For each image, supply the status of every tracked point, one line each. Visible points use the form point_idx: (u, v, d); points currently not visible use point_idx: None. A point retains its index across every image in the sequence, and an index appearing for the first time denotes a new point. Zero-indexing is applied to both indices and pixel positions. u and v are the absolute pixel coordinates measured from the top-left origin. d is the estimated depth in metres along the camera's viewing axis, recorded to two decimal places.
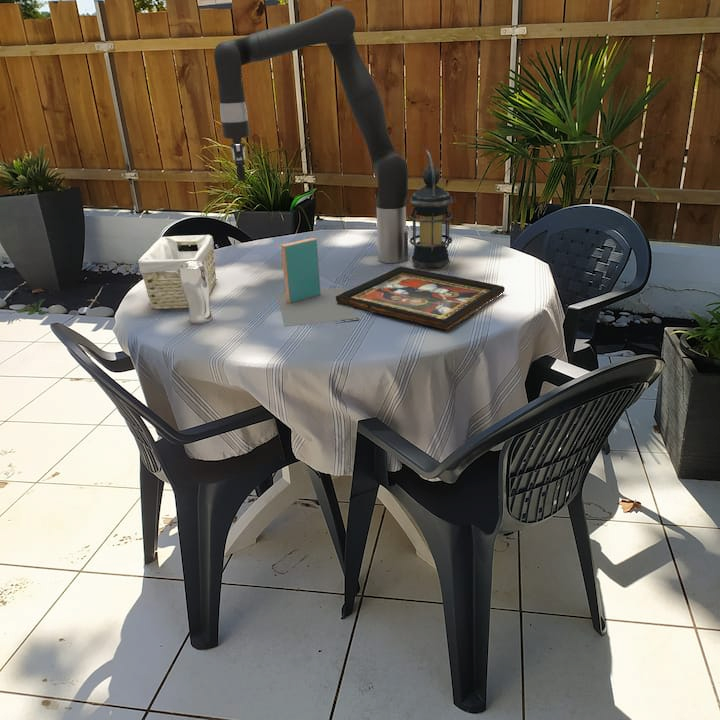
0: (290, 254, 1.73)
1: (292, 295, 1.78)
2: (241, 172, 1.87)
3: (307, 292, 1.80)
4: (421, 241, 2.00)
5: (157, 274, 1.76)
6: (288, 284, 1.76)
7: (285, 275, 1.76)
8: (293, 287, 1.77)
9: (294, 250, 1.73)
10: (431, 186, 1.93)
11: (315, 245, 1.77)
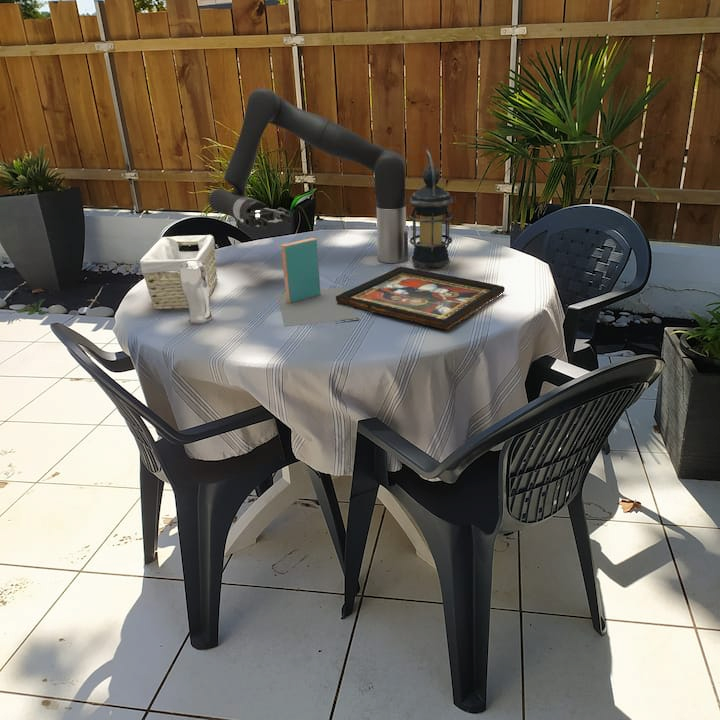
0: (290, 254, 1.73)
1: (292, 295, 1.78)
2: (259, 222, 1.80)
3: (307, 292, 1.80)
4: (421, 241, 2.00)
5: (158, 274, 1.75)
6: (288, 284, 1.76)
7: (285, 275, 1.76)
8: (293, 287, 1.77)
9: (294, 250, 1.73)
10: (431, 186, 1.93)
11: (315, 245, 1.77)
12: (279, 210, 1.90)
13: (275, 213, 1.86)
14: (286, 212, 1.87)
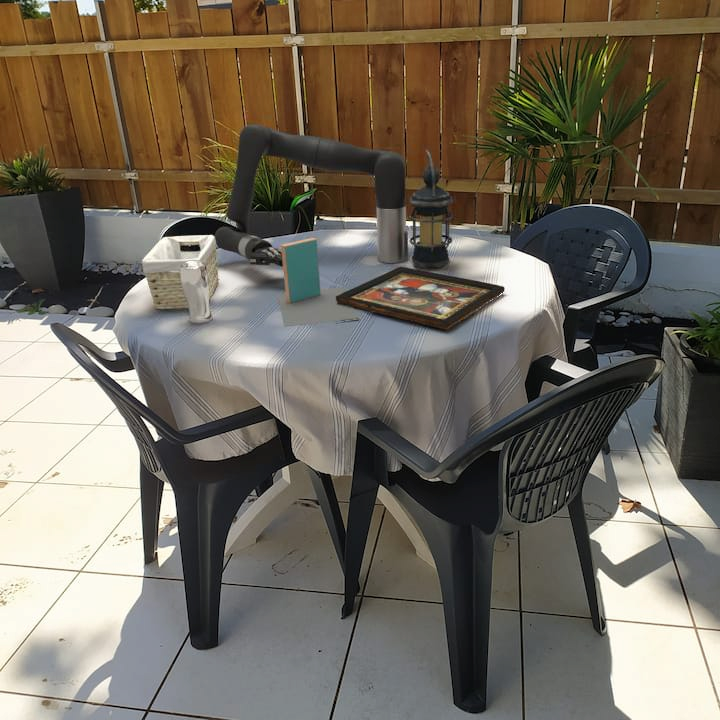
0: (290, 254, 1.73)
1: (292, 295, 1.78)
2: (275, 261, 1.86)
3: (307, 292, 1.80)
4: (421, 241, 2.00)
5: (160, 274, 1.75)
6: (288, 284, 1.76)
7: (285, 275, 1.76)
8: (293, 287, 1.77)
9: (294, 250, 1.73)
10: (431, 186, 1.93)
11: (315, 245, 1.77)
12: None
13: (273, 254, 1.90)
14: (281, 254, 1.89)
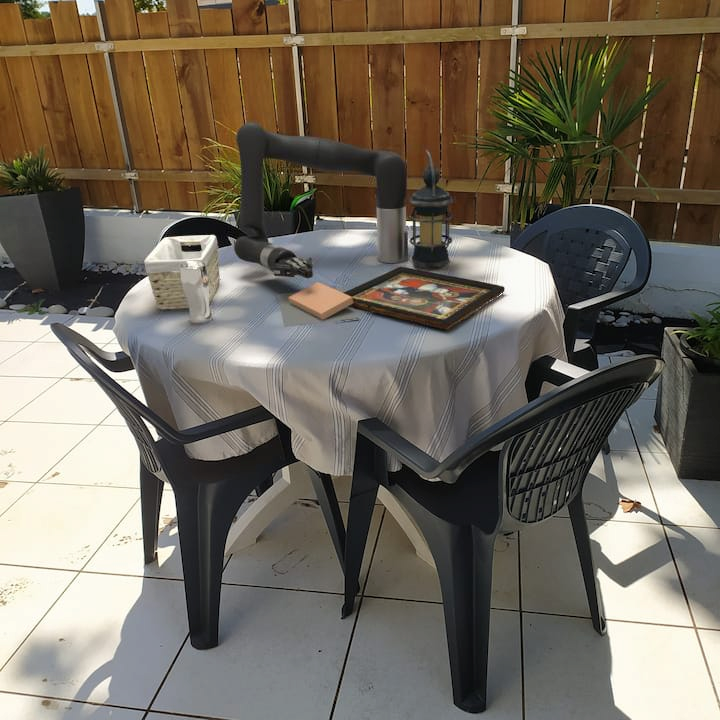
0: None
1: None
2: (300, 272, 1.76)
3: None
4: (421, 241, 2.00)
5: (162, 274, 1.75)
6: (301, 308, 1.74)
7: (304, 307, 1.72)
8: None
9: None
10: (431, 186, 1.93)
11: None
12: (307, 261, 1.83)
13: (298, 265, 1.79)
14: (306, 265, 1.79)
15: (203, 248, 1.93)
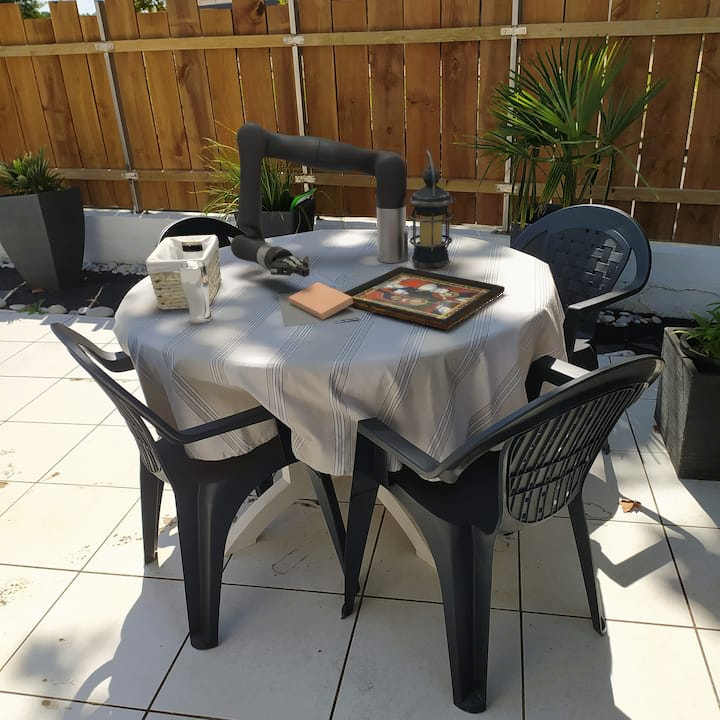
0: None
1: None
2: (297, 271, 1.77)
3: None
4: (421, 241, 2.00)
5: (164, 274, 1.75)
6: (301, 308, 1.74)
7: (304, 307, 1.72)
8: None
9: None
10: (431, 186, 1.93)
11: None
12: (303, 259, 1.84)
13: (295, 264, 1.81)
14: (303, 263, 1.81)
15: (204, 248, 1.93)
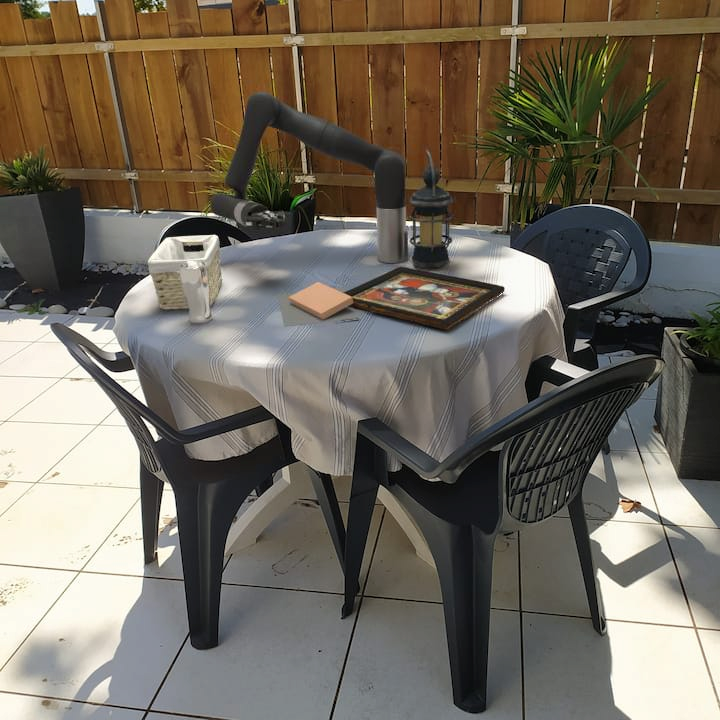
0: None
1: None
2: (271, 223, 1.82)
3: None
4: (421, 241, 2.00)
5: (166, 274, 1.75)
6: (301, 308, 1.74)
7: (304, 307, 1.72)
8: None
9: None
10: (431, 186, 1.93)
11: None
12: (278, 214, 1.89)
13: (270, 217, 1.85)
14: (277, 216, 1.85)
15: (205, 248, 1.93)
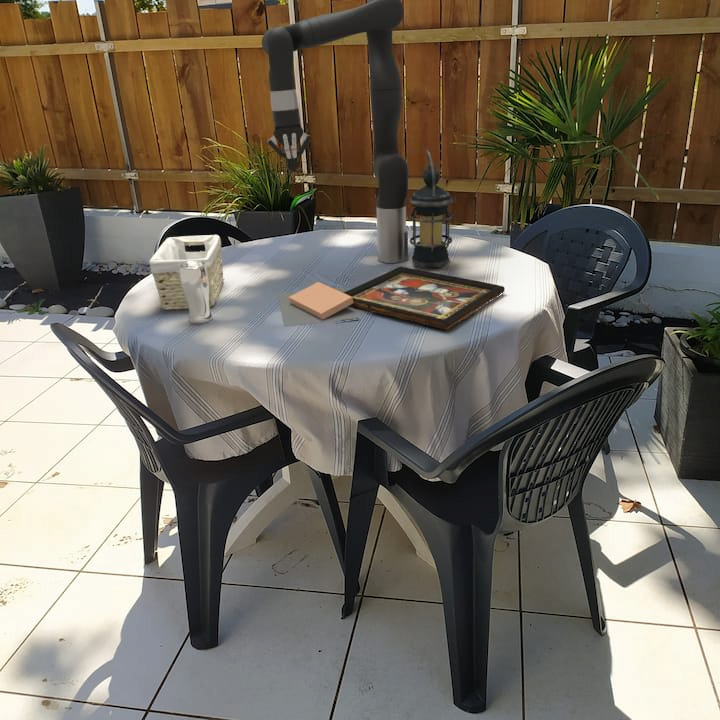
0: None
1: None
2: (287, 163, 1.88)
3: None
4: (421, 241, 2.00)
5: (168, 274, 1.75)
6: (301, 307, 1.74)
7: (304, 307, 1.72)
8: None
9: None
10: (431, 186, 1.93)
11: None
12: (304, 140, 1.86)
13: (292, 148, 1.86)
14: (298, 153, 1.87)
15: (207, 248, 1.93)
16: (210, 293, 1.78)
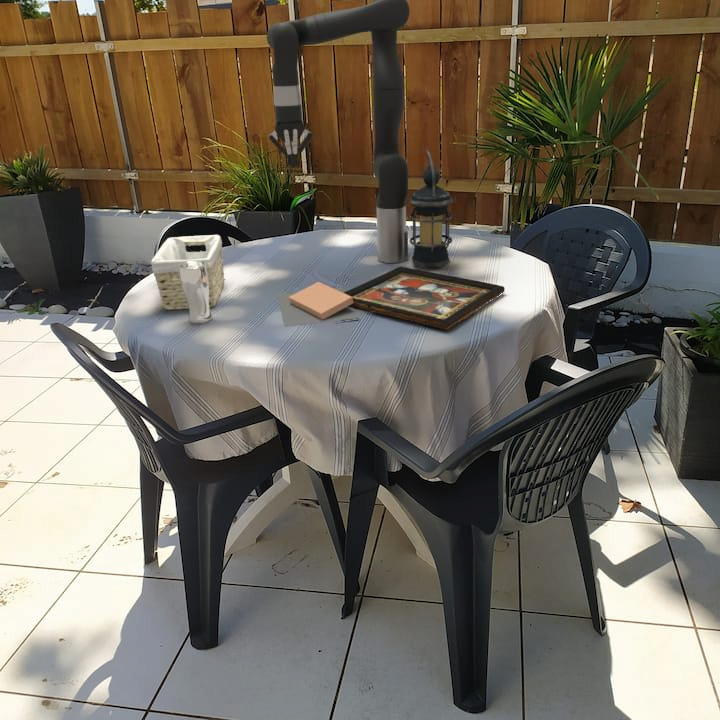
0: None
1: None
2: (287, 159, 1.88)
3: None
4: (421, 241, 2.00)
5: (169, 274, 1.75)
6: (301, 307, 1.75)
7: (304, 307, 1.72)
8: None
9: None
10: (431, 186, 1.93)
11: None
12: (305, 136, 1.86)
13: (292, 144, 1.86)
14: (299, 149, 1.87)
15: (207, 248, 1.93)
16: (212, 293, 1.78)
